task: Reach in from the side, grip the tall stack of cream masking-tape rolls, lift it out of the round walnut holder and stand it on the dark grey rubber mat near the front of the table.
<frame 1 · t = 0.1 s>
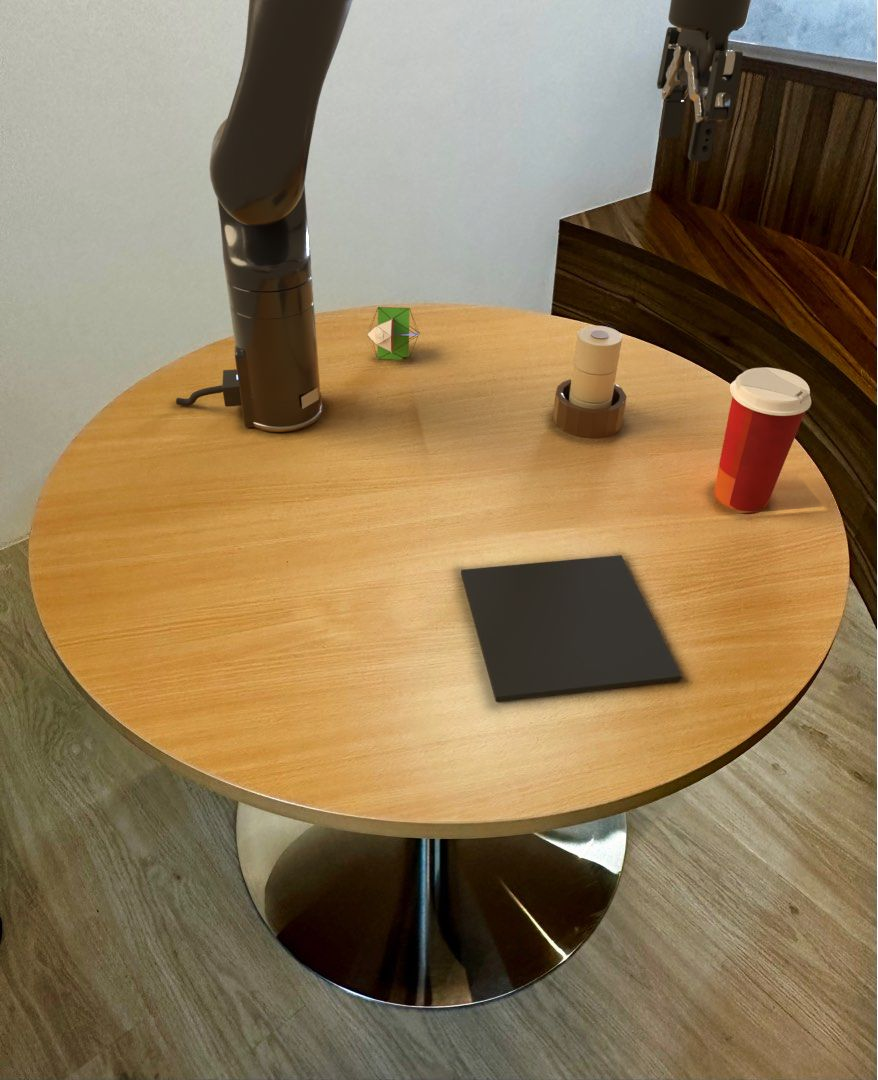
hand: (682, 148, 95), 29 cm above the table, tool pointing down, fingers open, 8 cm apart
paper cup: (739, 499, 95), on the table
tape stack: (587, 419, 106), resting on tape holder
geometric puzzle: (393, 356, 119), on the table
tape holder: (586, 423, 106), on the table
rubber mat: (563, 624, 80), on the table
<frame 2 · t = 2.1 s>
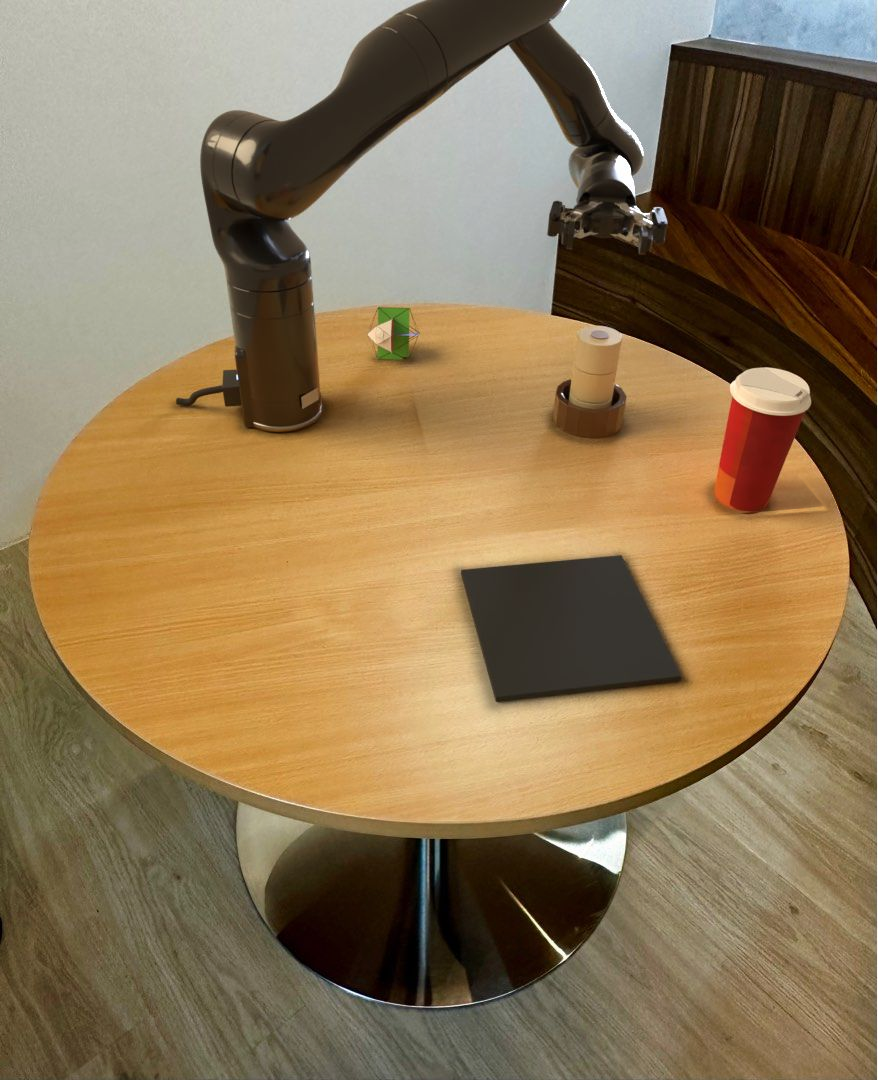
hand: (607, 244, 104), 18 cm above the table, tool horizontal, fingers open, 8 cm apart
nothing on the table moved.
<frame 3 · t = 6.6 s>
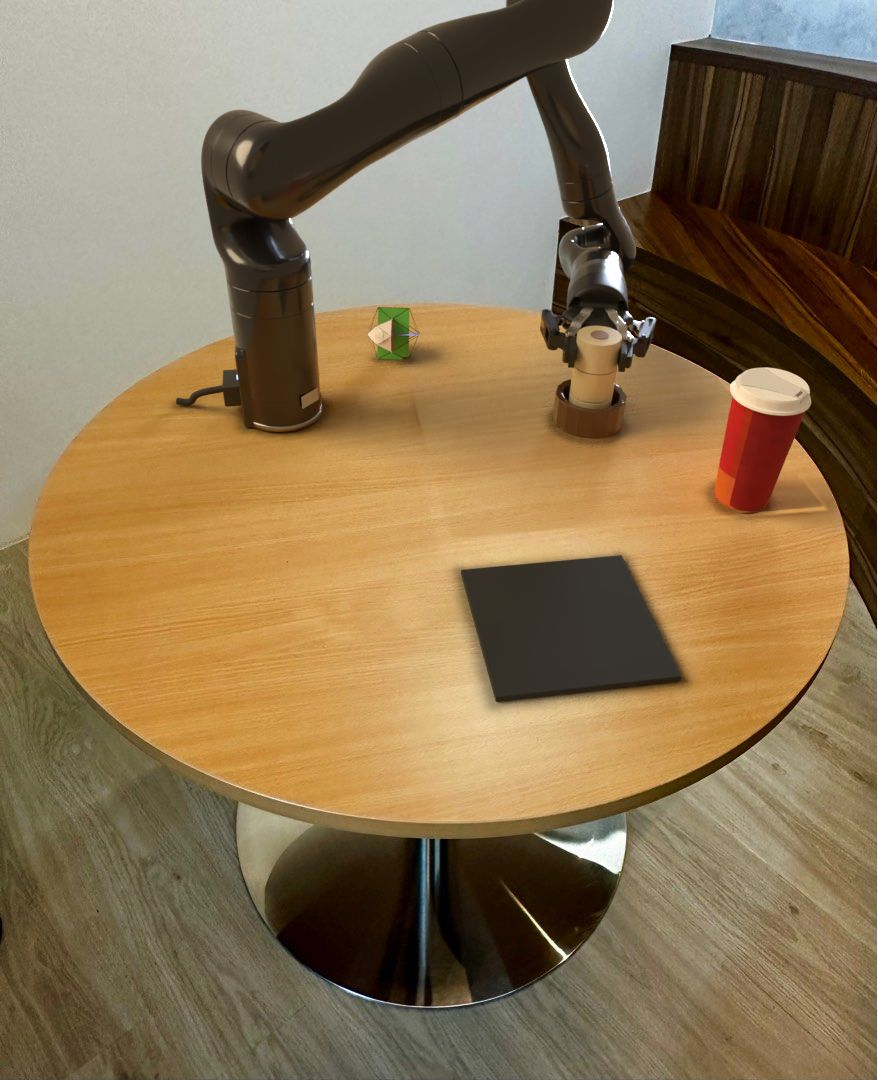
hand: (597, 362, 98), 10 cm above the table, tool horizontal, fingers closed on tape stack, 5 cm apart
tape stack: (587, 419, 106), point 1 cm above the table, touching gripper, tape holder
everything else where it was.
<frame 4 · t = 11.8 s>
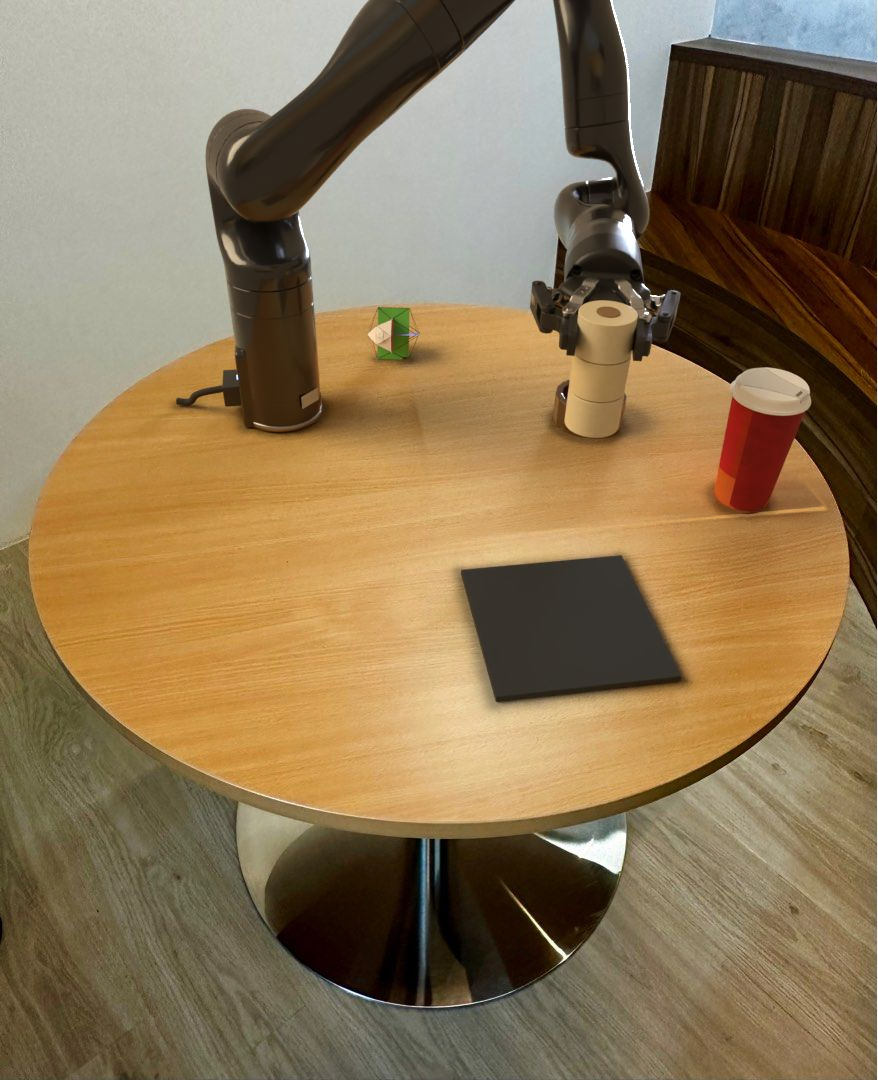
hand: (605, 348, 74), 22 cm above the table, tool horizontal, fingers closed on tape stack, 5 cm apart
tape stack: (591, 423, 82), point 13 cm above the table, touching gripper
everything else where it was.
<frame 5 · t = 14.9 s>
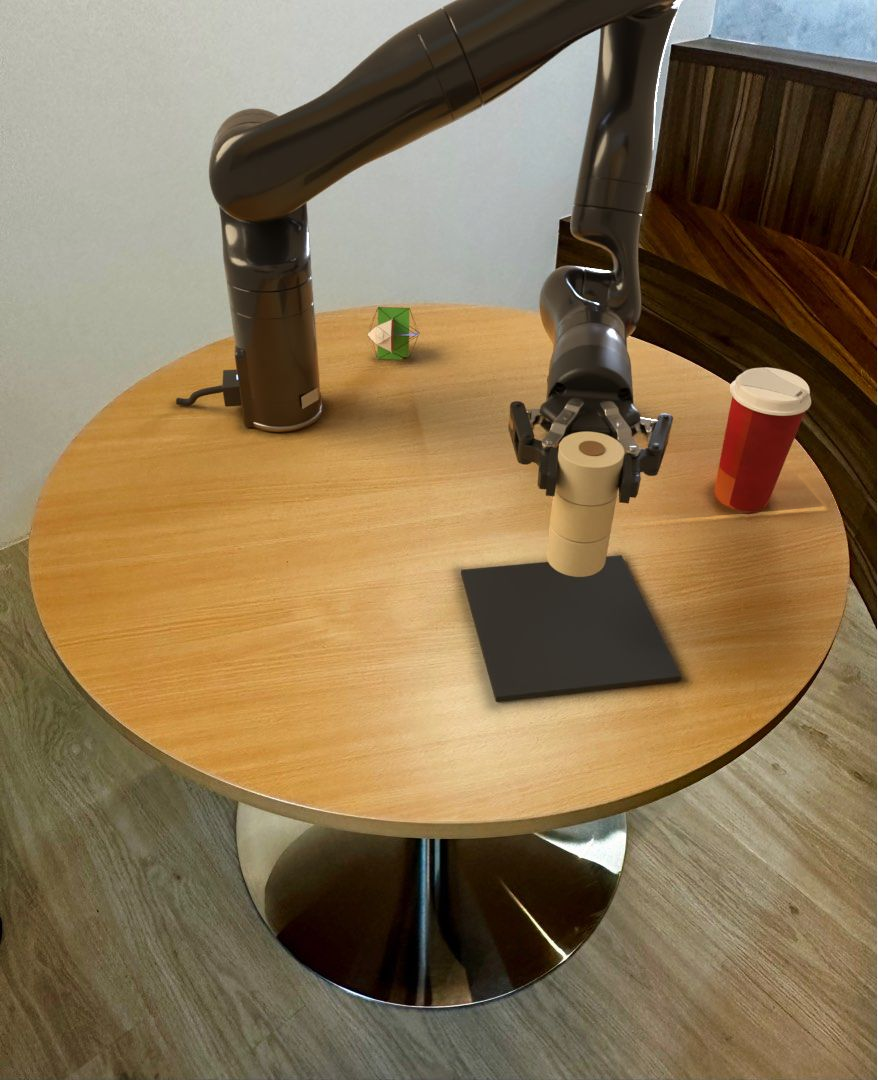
hand: (588, 489, 67), 17 cm above the table, tool horizontal, fingers closed on tape stack, 5 cm apart
tape stack: (575, 557, 75), point 8 cm above the table, touching gripper
everything else where it was.
when the fingers open (10 cm above the table, at t = 17.3 s): tape stack stays where it is, resting on rubber mat.
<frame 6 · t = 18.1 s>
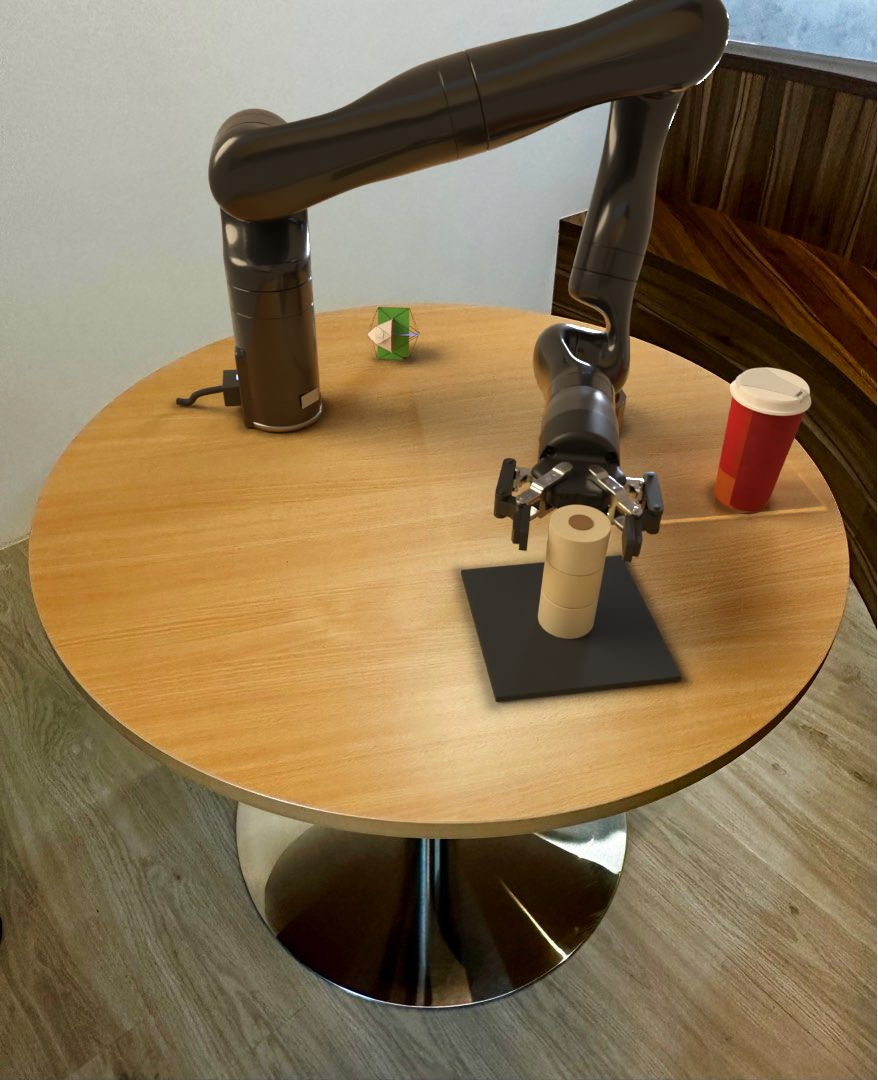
hand: (576, 548, 72), 10 cm above the table, tool horizontal, fingers open, 8 cm apart
tape stack: (565, 619, 79), point 1 cm above the table, touching rubber mat
everything else where it was.
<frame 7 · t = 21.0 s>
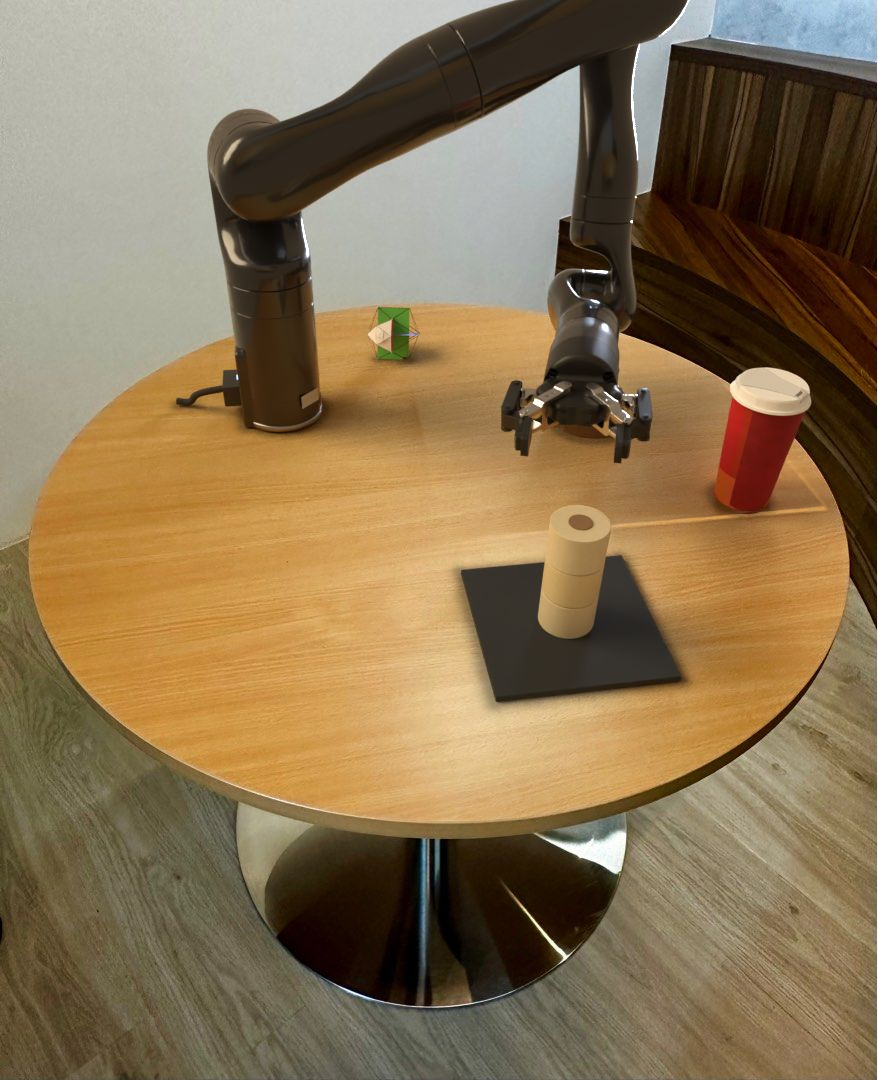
hand: (570, 451, 81), 11 cm above the table, tool horizontal, fingers open, 8 cm apart
nothing on the table moved.
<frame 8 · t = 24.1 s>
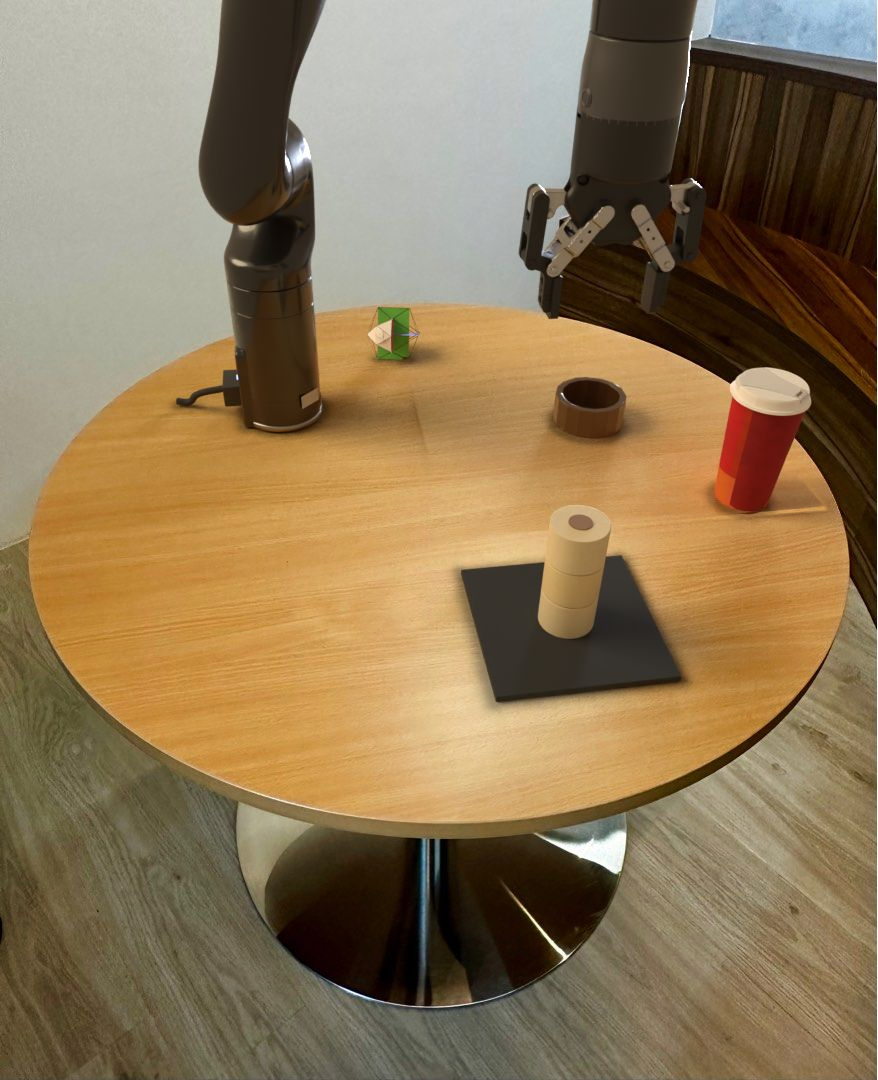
hand: (599, 312, 74), 24 cm above the table, tool pointing down, fingers open, 8 cm apart
nothing on the table moved.
at the end: tape stack inside the target area on the rubber mat (0.1 cm from its centre), point 0.6 cm above the rubber mat's base; tape stack tilted 0°; the gripper is holding nothing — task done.
